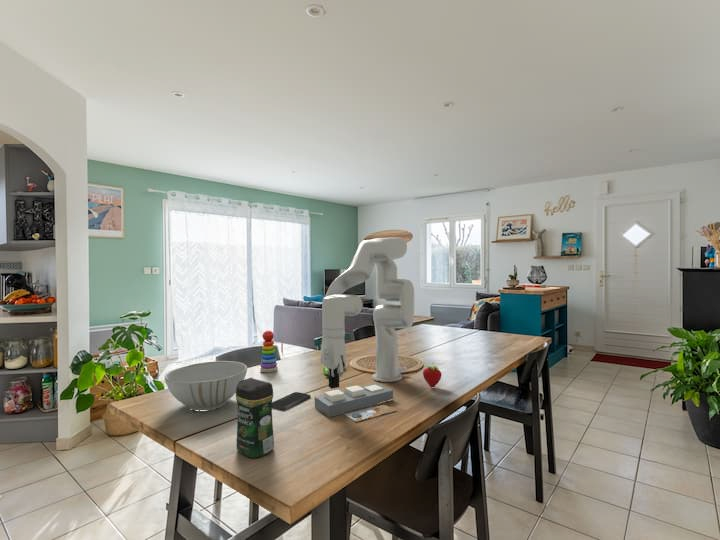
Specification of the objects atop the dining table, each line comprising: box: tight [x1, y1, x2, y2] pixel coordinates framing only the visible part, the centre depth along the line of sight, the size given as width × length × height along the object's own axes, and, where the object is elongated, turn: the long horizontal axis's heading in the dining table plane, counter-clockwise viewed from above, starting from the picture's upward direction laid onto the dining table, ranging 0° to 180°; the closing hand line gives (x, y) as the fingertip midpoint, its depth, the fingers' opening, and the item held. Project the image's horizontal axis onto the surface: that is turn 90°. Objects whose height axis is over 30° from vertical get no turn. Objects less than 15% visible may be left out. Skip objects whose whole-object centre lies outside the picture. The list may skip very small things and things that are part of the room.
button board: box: [314, 382, 394, 418], centre depth 129 cm, size 26×10×4 cm, turn 123°
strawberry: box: [422, 362, 443, 388], centre depth 145 cm, size 6×8×10 cm
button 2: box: [364, 385, 383, 393], centre depth 133 cm, size 5×5×4 cm
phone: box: [272, 391, 311, 411], centre depth 132 cm, size 8×1×15 cm
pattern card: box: [344, 406, 376, 421], centre depth 120 cm, size 16×7×1 cm, turn 123°
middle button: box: [344, 385, 365, 397], centre depth 129 cm, size 5×5×4 cm
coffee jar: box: [235, 377, 275, 459], centre depth 97 cm, size 10×8×19 cm
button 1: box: [324, 388, 345, 402], centre depth 124 cm, size 5×5×4 cm
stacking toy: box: [259, 330, 279, 374], centre depth 172 cm, size 8×8×19 cm
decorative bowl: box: [164, 360, 248, 412], centre depth 130 cm, size 27×27×12 cm
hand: (334, 387), depth 124 cm, fingers closed
